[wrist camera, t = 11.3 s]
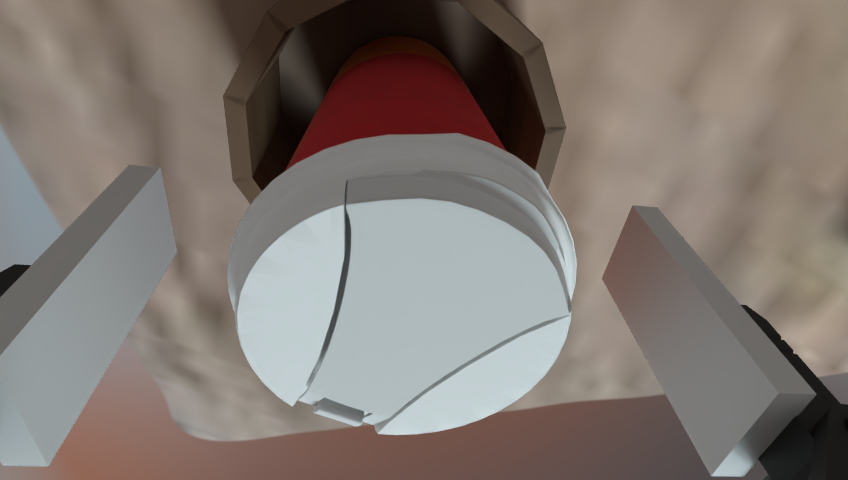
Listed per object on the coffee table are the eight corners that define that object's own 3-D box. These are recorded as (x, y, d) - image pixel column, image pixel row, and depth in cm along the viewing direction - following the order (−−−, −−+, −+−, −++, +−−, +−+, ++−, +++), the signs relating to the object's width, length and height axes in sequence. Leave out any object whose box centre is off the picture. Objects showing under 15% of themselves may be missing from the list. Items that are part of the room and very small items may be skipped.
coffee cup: (424, 206, 26) (454, 477, 14) (279, 130, 23) (157, 387, 11) (524, 70, 22) (684, 280, 10) (364, -41, 20) (320, 66, 7)
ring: (253, -69, 19) (205, -56, 14) (553, -30, 20) (604, -6, 15) (272, 200, 26) (243, 272, 21) (495, 216, 27) (519, 287, 22)
